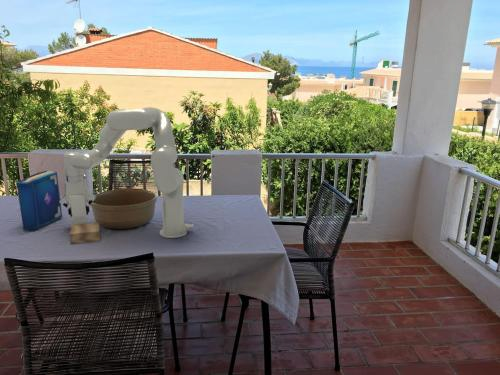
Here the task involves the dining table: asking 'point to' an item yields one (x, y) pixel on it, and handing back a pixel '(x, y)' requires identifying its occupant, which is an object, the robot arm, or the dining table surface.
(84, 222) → the skincare box
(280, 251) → the dining table surface
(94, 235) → the tan flat block
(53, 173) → the book
